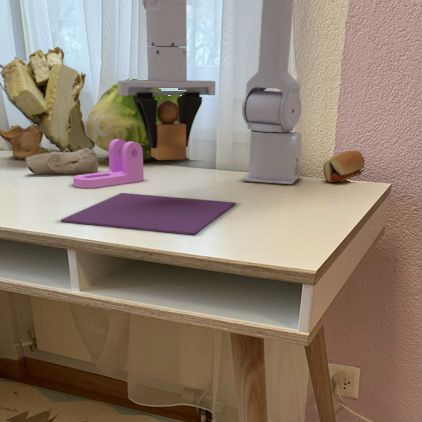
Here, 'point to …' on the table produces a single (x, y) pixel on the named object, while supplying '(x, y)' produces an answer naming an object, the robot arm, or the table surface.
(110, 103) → the lettuce
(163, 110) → the wooden knob on block
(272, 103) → the robot arm
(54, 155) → the bone fragment
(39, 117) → the debris
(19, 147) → the bone
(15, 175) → the table surface
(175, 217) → the felt cloth
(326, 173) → the food
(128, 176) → the bracket
